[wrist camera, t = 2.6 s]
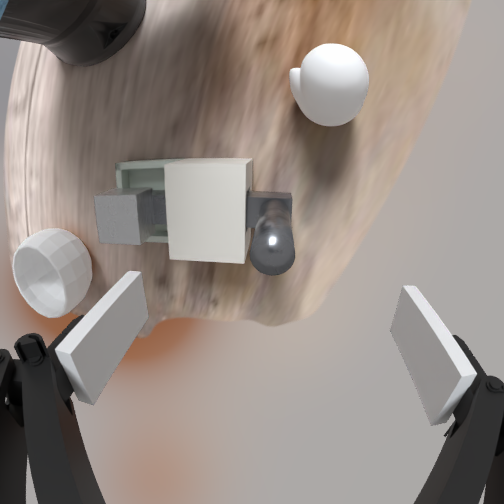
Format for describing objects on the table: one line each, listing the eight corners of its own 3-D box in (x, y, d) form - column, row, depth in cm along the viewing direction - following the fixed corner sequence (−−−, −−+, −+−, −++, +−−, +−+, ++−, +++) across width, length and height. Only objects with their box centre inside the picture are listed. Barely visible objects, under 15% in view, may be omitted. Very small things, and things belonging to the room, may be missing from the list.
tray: (131, 233, 39) (122, 240, 36) (125, 161, 35) (115, 163, 32) (187, 235, 38) (181, 243, 35) (185, 158, 34) (177, 160, 32)
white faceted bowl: (41, 219, 39) (1, 240, 30) (97, 216, 38) (56, 239, 29) (57, 287, 44) (25, 315, 35) (112, 293, 43) (81, 327, 34)
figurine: (336, 59, 28) (363, 26, 17) (362, 116, 31) (402, 109, 19) (282, 78, 30) (283, 49, 19) (308, 135, 32) (324, 135, 21)
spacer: (117, 231, 32) (99, 243, 28) (112, 188, 30) (93, 196, 26) (155, 232, 32) (140, 245, 28) (152, 187, 30) (136, 195, 26)
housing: (189, 236, 38) (169, 259, 31) (186, 158, 34) (164, 164, 27) (250, 238, 38) (244, 263, 30) (252, 158, 34) (245, 164, 27)
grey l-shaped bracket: (121, 215, 35) (52, 260, 22) (119, 190, 33) (45, 225, 20) (289, 221, 33) (296, 278, 20) (291, 192, 32) (299, 233, 19)
